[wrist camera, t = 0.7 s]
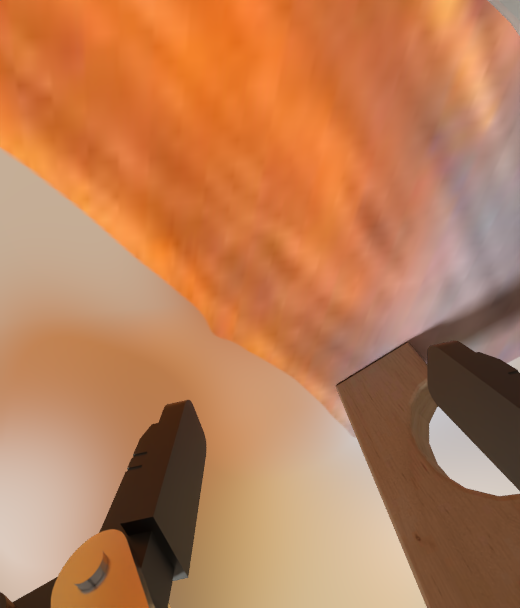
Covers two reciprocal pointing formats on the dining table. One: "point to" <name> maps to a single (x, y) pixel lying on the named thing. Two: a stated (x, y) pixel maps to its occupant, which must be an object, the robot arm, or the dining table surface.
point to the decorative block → (432, 491)
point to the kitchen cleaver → (509, 11)
